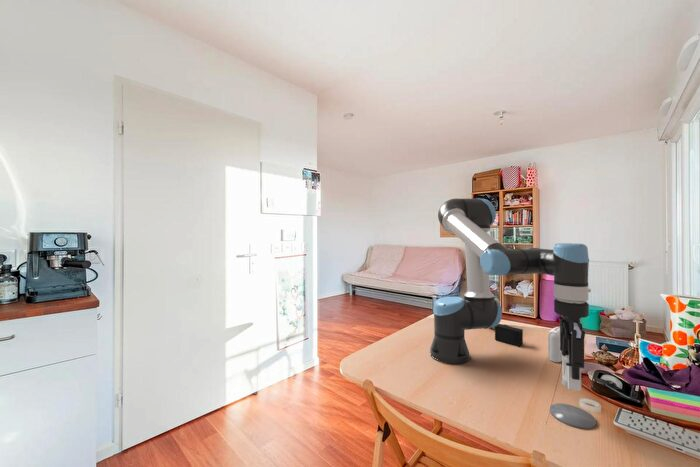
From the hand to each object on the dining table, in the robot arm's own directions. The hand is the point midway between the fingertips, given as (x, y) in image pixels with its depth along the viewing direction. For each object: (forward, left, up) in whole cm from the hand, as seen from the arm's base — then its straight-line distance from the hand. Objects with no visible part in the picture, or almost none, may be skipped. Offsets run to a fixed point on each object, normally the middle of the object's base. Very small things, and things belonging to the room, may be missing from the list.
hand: (571, 384), depth 80 cm
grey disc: (0, 0, -9) cm, 9 cm away
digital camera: (-10, +53, -9) cm, 55 cm away
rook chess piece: (0, 0, -1) cm, 1 cm away
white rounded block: (+6, +41, -9) cm, 42 cm away
